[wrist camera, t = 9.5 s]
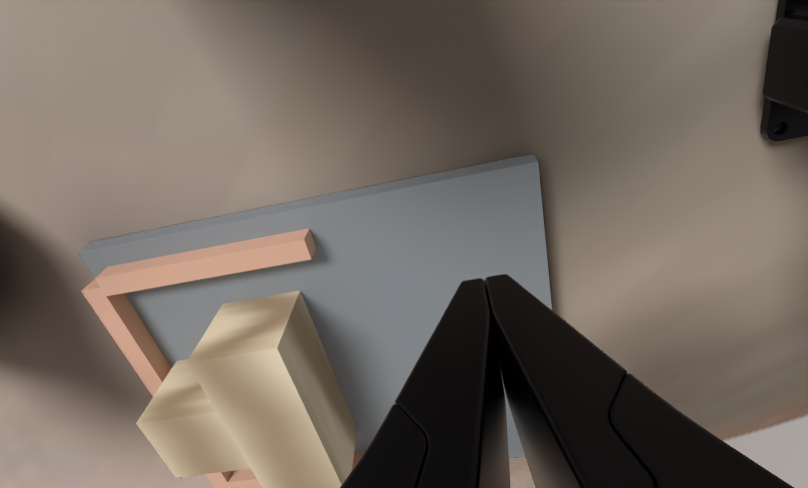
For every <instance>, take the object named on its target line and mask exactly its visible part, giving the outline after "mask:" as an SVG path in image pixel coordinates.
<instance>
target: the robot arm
mask: <svg viewBox="0 0 808 488" xmlns="http://www.w3.org/2000/svg"><path fill="white" fill-rule="evenodd" d="M763 95H764V96H765V100H764V108H763V115H762V122H761V134H762V135H763V136H764V137H766V138H768V139H770V140H773V141H781V140H786V139H792V138H797V137H802V136H808V0H779V1H778V8H777V15H776V22H775V24H774V25H773V26H772V30H771V37H770V44H769V52H768V59H767V66H766V73H765V81H764V88H763ZM778 123H781V127H780V128H779V129H778V130H777V131H775V132H774V128H775V126H776V125H777V124H778ZM502 379H503V380H502ZM503 384H504V386H503ZM504 389H505V393H506V397H507V401H508V404H509V407H510V411H511V414H512V417H513V420H514V423H515V426H516V429H517V432H518V435H519V438H520V441H521V444H522V447H523V450H524V453H525V456H526V459H527V463H528V466H529V469H530V472H531V475H532V478H533V481H534V484H535V487H536V488H794V487H792V486H791V485H789V484H787V483H786V482H784V481H783V480H781V479H780V478H778V477H777V476H775V475H774V474H772V473H771V472H769V471H768V470H766V469H765V468H763V467H761V466H760V465H758V464H757V463H755V462H754V461H752V460H751V459H749V458H748V457H746V456H745V455H743V454H742V453H740V452H739V451H737V450H736V449H734V448H732V447H731V446H729V445H728V444H726V443H725V442H723V441H722V440H720V439H719V438H717V437H716V436H714V435H713V434H711V433H710V432H708V431H707V430H705V429H704V428H703V427H701V426H700V425H698V424H697V423H695V422H694V421H692V420H691V419H689V418H688V417H687V416H685V415H684V414H682V413H681V412H679V411H678V410H676V409H675V408H674V407H673V406H671V405H670V404H669V403H667V402H666V401H665V400H663V399H662V398H661V397H659V396H658V395H657V394H656V393H654V392H653V391H652V390H650V389H649V388H648V387H646V386H645V385H644V384H643V383H641V382H640V381H639V380H638V379H637V378H635V377H634V376H633V375H632V374H627V371H626V370H625V369H624V368H623V367H621V366H620V365H619V364H618V363H616V362H615V361H614V360H613V359H612V358H610V357H609V356H608V355H607V354H605V353H604V352H603V351H602V350H600V349H599V348H598V347H597V346H595V345H594V344H593V343H592V342H591V341H589V340H588V339H587V338H586V337H584V336H583V335H582V334H581V333H579V332H578V331H577V330H576V329H574V328H573V327H572V326H571V325H570V324H568V323H567V322H566V321H565V320H563V319H562V318H561V317H560V316H558V315H557V314H556V313H555V312H553V311H552V310H551V309H550V308H548V307H547V306H546V305H545V304H544V303H542V302H541V301H540V300H539V299H537V298H536V297H535V296H534V295H532V294H531V293H530V292H529V291H527V290H526V289H525V288H524V287H523V286H521V285H520V284H519V283H518V282H516V281H515V280H514V279H513V278H511V277H510V276H509V275H507V274H501V275H495V276H489V277H487V278H486V279H485V281H484V280H483V279H482V278H477V279H471V280H465V281H462V282H461V283H460V285H459V287H458V289H457V290H456V292H455V294H454V296H453V298H452V299H451V301H450V303H449V305H448V307H447V308H446V310H445V312H444V314H443V315H442V317H441V319H440V321H439V323H438V324H437V326H436V328H435V330H434V332H433V333H432V335H431V337H430V339H429V341H428V342H427V344H426V346H425V348H424V350H423V351H422V353H421V355H420V357H419V359H418V360H417V362H416V364H415V366H414V368H413V369H412V371H411V373H410V375H409V377H408V378H407V380H406V382H405V384H404V386H403V387H402V389H401V391H400V393H399V395H398V396H397V398H396V400H395V404H393V405H392V407H391V408H390V410H389V412H388V414H387V416H386V418H385V419H384V421H383V423H382V424H381V426H380V428H379V429H378V431H377V433H376V434H375V436H374V438H373V439H372V441H371V443H370V444H369V446H368V448H367V449H366V451H365V452H364V454H363V455H362V456H361V458H360V459H359V461H358V462H357V464H356V465H355V467H354V468H353V470H352V471H351V473H350V474H349V475H348V477H347V478H346V480H345V481H344V482H343V484H342V485H341V487H340V488H510V472H509V453H508V434H507V415H506V401H505V393H504Z"/></svg>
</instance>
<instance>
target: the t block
mask: <svg viewBox="0 0 808 488" xmlns="http://www.w3.org/2000/svg"><path fill="white" fill-rule="evenodd" d="M136 424H137V425H138V427H139V428H140V429H141V431H142V432H143V433H144V435H145V436H146V437H147V439H148V440H149V441H150V443H151V444H152V446H153V447H154V448H155V450H156V451H157V452H158V454H159V455H160V456H161V458H162V459H163V460H164V462H165V463H166V465H167V466H168V467H169V469H170V470H171V471H172V473H173V474H174V475H175V477H185V476H193V475H202V474H210V473H218V472H227V471H235V470H244V469H251V470H252V471H253V473H254V475H255V476H256V478H257V480H258V481H259V483H260V485H261V486H262V488H340V487H341V485H342V484H343V482H344V481H345V480H346V478H347V477H348V475H349V474H350V473H351V471H352V464H353V457H354V450H355V444H356V437H357V428H356V426H355V423H354V421H353V419H352V416H351V414H350V411H349V409H348V406H347V404H346V401H345V399H344V397H343V394H342V392H341V389H340V387H339V384H338V382H337V380H336V377H335V375H334V372H333V370H332V367H331V365H330V363H329V360H328V358H327V355H326V353H325V350H324V348H323V345H322V343H321V341H320V338H319V336H318V333H317V331H316V328H315V326H314V324H313V321H312V319H311V316H310V314H309V311H308V309H307V306H306V304H305V302H304V299H303V297H302V294H301V292H300V291H295V292H289V293H283V294H278V295H272V296H266V297H260V298H255V299H249V300H243V301H237V302H232V303H226V304H222V306H221V308H220V309H219V311H218V312H217V314H216V316H215V317H214V319H213V320H212V322H211V324H210V325H209V327H208V329H207V330H206V332H205V333H204V335H203V337H202V338H201V340H200V342H199V343H198V345H197V346H196V348H195V350H194V351H193V353H192V354H191V356H190V358H189V359H186V360H180V361H176V362H175V364H174V365H173V367H172V369H171V370H170V372H169V373H168V375H167V376H166V378H165V379H164V381H163V382H162V384H161V386H160V387H159V389H158V390H157V392H156V393H155V395H154V396H153V398H152V400H151V401H150V403H149V404H148V406H147V407H146V409H145V410H144V412H143V413H142V415H141V417H140V418H139V420H138V421H137V423H136Z"/></svg>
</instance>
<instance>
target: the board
mask: <svg viewBox="0 0 808 488" xmlns="http://www.w3.org/2000/svg"><path fill="white" fill-rule="evenodd" d="M77 253H78V255H79V256H80V258H81V259H82V261H83V262H84V264H85V265H86V267H87V268H88V270H89V271H90V273H91V274H92V276H93V278H94V280H93V281H92V282H91V283H89V284H88V285H87V286H86V287H85V288H84V289H83V290H82V291H81V292H82V293H83V295H84V296H85V297H86V299H87V300H88V302H89V303H90V305H91V306H92V308H93V309H94V311H95V312H96V314H97V315H98V317H99V318H100V320H101V321H102V323H103V324H104V325H105V327H106V328H107V330H108V331H109V333H110V334H111V336H112V337H113V339H114V340H115V342H116V343H117V345H118V346H119V348H120V349H121V351H122V352H123V353H124V355H125V356H126V358H127V359H128V361H129V362H130V364H131V365H132V367H133V368H134V370H135V371H136V373H137V374H138V376H139V377H140V379H141V380H142V381H143V383H144V384H145V386H146V387H147V389H148V390H149V392H150V393H151V395H152V396H154V395H155V393H156V392H157V390H158V389H159V387H160V386H161V384H162V382H163V381H164V379H165V378H166V376H167V375H168V373H169V372H170V370H171V369H172V367H173V365H174V364H175V362H176V361H180V360H186V359H189V358H190V356H191V354H192V353H193V351H194V350H195V348H196V346H197V345H198V343H199V342H200V340H201V338H202V337H203V335H204V333H205V332H206V330H207V329H208V327H209V325H210V324H211V322H212V320H213V319H214V317H215V316H216V314H217V312H218V311H219V309H220V308H221V306H222V304H226V303H232V302H237V301H243V300H249V299H255V298H260V297H266V296H272V295H278V294H283V293H289V292H295V291H300V292H301V294H302V297H303V299H304V302H305V304H306V306H307V309H308V311H309V314H310V316H311V319H312V321H313V324H314V326H315V328H316V331H317V333H318V336H319V338H320V341H321V343H322V345H323V348H324V350H325V353H326V355H327V358H328V360H329V363H330V365H331V367H332V370H333V372H334V375H335V377H336V380H337V382H338V384H339V387H340V389H341V392H342V394H343V397H344V399H345V401H346V404H347V406H348V409H349V411H350V414H351V416H352V419H353V421H354V423H355V426H356V428H357V437H356V444H355V450H354V457H353V464H352V470H353V468H354V467H355V465H356V464H357V462H358V461H359V459H360V458H361V456H362V455H363V454H364V452H365V451H366V449H367V448H368V446H369V444H370V443H371V441H372V439H373V438H374V436H375V434H376V433H377V431H378V429H379V428H380V426H381V424H382V423H383V421H384V419H385V418H386V416H387V414H388V412H389V410H390V408H391V407H392V405H393V404H395V400H396V398H397V396H398V395H399V393H400V391H401V389H402V387H403V386H404V384H405V382H406V380H407V378H408V377H409V375H410V373H411V371H412V369H413V368H414V366H415V364H416V362H417V360H418V359H419V357H420V355H421V353H422V351H423V350H424V348H425V346H426V344H427V342H428V341H429V339H430V337H431V335H432V333H433V332H434V330H435V328H436V326H437V324H438V323H439V321H440V319H441V317H442V315H443V314H444V312H445V310H446V308H447V307H448V305H449V303H450V301H451V299H452V298H453V296H454V294H455V292H456V290H457V289H458V287H459V285H460V283H461V282H462V281H465V280H471V279H477V278H482V279H483V280H484V281H485V279H486V278H487V277H489V276H495V275H501V274H507V275H509V276H510V277H511V278H513V279H514V280H515V281H516V282H518V283H519V284H520V285H521V286H523V287H524V288H525V289H526V290H527V291H529V292H530V293H531V294H532V295H534V296H535V297H536V298H537V299H539V300H540V301H541V302H542V303H544V304H545V305H546V306H547V307H548V308H550V309H551V310H552V304H551V293H550V283H549V272H548V261H547V250H546V240H545V229H544V218H543V207H542V197H541V186H540V175H539V164H538V161H537V159H536V157H535V156H534V154H529V155H524V156H518V157H513V158H508V159H503V160H498V161H493V162H488V163H483V164H478V165H473V166H468V167H463V168H458V169H453V170H448V171H443V172H438V173H433V174H428V175H423V176H418V177H413V178H408V179H403V180H398V181H393V182H388V183H383V184H378V185H373V186H368V187H363V188H358V189H353V190H348V191H343V192H338V193H333V194H328V195H323V196H318V197H313V198H308V199H303V200H298V201H293V202H288V203H283V204H278V205H273V206H268V207H263V208H258V209H253V210H248V211H243V212H238V213H233V214H228V215H223V216H218V217H213V218H208V219H203V220H198V221H193V222H188V223H182V224H177V225H172V226H167V227H162V228H157V229H152V230H147V231H142V232H137V233H132V234H127V235H122V236H117V237H112V238H107V239H102V240H97V241H92V242H90V243H88V244H87V245H86V246H85V247H83V248H82V249H81V250H80V251H78V252H77ZM502 380H503V379H502ZM503 386H504V384H503ZM504 393H505V389H504ZM505 401H506V415H507V434H508V453H509V458H515V457H524V456H525V453H524V450H523V447H522V444H521V441H520V438H519V435H518V432H517V429H516V426H515V423H514V420H513V417H512V414H511V411H510V407H509V404H508V401H507V397H506V393H505ZM206 476H207V477H208V479H209V480H210V482H211V483H212V485H213V486H214V488H262V486H261V485H260V483H259V481H258V480H257V478H256V476H255V475H254V473H253V471H252V470H251V469H244V470H235V471H227V472H218V473H210V474H206Z"/></svg>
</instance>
